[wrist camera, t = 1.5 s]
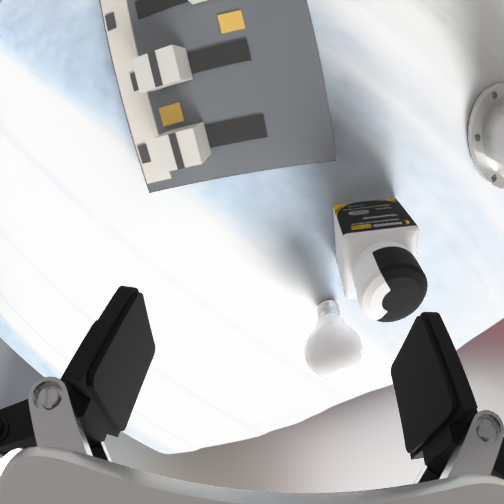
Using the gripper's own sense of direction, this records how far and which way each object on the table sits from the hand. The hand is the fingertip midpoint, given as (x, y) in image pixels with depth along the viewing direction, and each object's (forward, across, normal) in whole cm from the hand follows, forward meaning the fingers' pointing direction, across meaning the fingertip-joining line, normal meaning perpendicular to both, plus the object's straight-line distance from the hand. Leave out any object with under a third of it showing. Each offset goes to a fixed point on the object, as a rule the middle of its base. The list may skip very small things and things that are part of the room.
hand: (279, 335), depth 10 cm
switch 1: (+20, +10, -9) cm, 24 cm away
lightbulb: (+23, -7, +18) cm, 30 cm away
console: (+23, +7, -10) cm, 26 cm away
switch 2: (+20, +9, -2) cm, 21 cm away
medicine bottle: (+23, -10, +7) cm, 26 cm away
